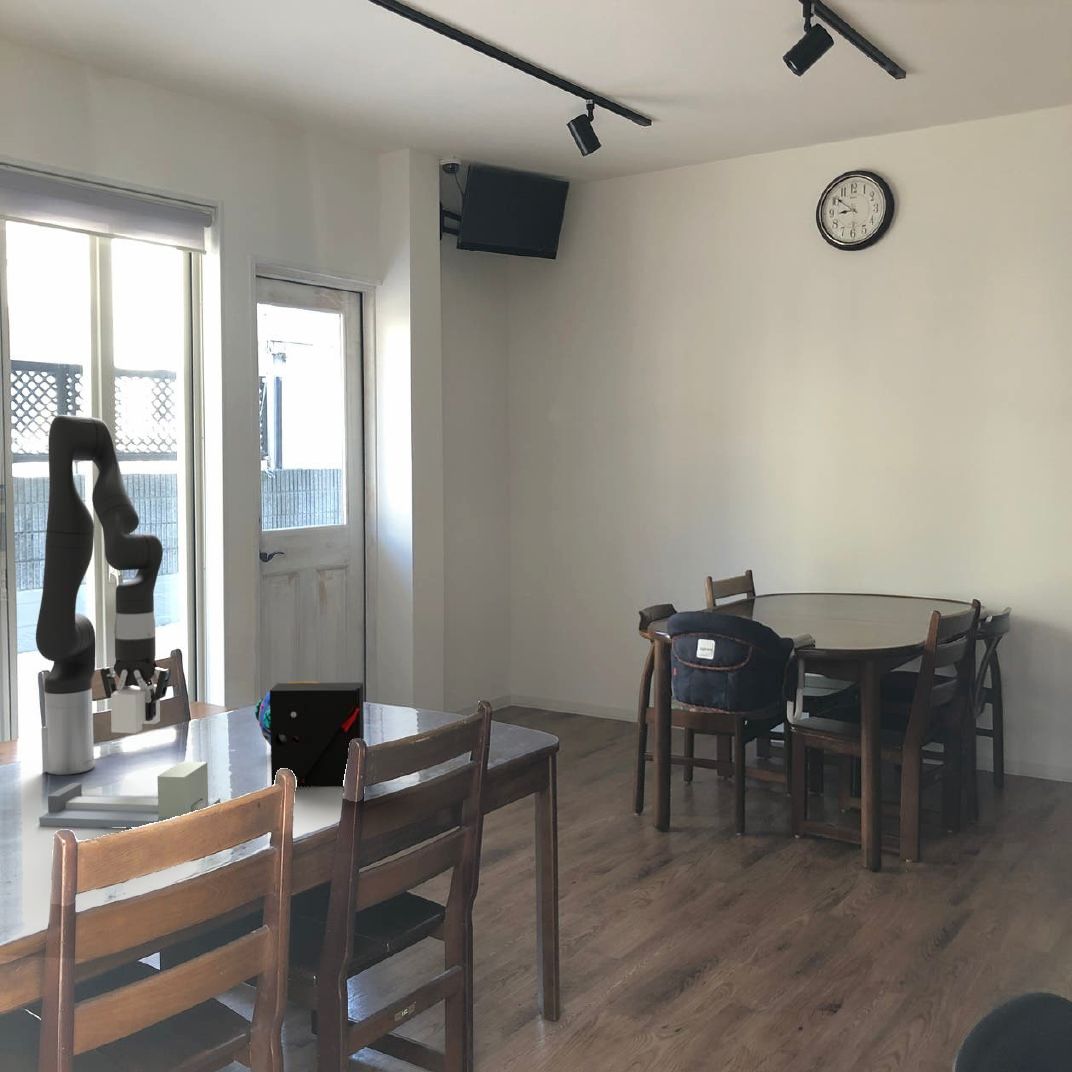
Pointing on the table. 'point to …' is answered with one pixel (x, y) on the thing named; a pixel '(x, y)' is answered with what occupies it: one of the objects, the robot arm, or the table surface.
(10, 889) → the table surface
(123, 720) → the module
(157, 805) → the mounting plate
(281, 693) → the electrical component
